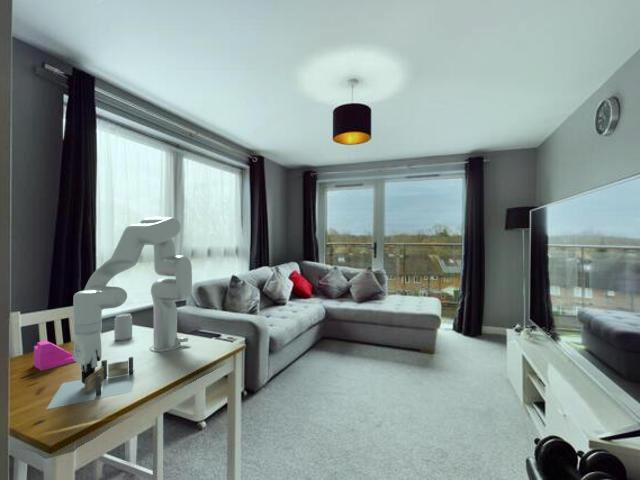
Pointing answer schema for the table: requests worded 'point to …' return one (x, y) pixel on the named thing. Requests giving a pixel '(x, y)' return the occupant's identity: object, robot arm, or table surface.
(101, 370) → the gate
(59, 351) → the magenta wedge-shaped piece
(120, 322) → the can
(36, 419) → the table surface
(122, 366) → the fence fixed
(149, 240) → the robot arm
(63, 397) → the card
